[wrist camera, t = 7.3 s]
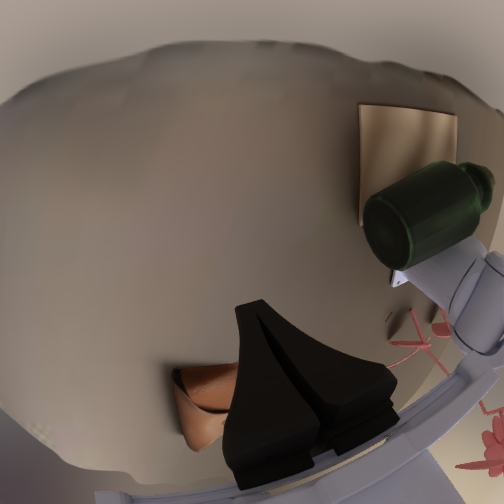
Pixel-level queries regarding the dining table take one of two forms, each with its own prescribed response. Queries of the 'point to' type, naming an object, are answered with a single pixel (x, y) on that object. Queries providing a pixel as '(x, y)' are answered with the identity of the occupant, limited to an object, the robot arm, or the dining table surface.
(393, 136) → the placemat
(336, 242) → the dining table surface
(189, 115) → the dining table surface
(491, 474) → the figurine
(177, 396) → the sunglasses case
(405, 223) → the potion bottle
